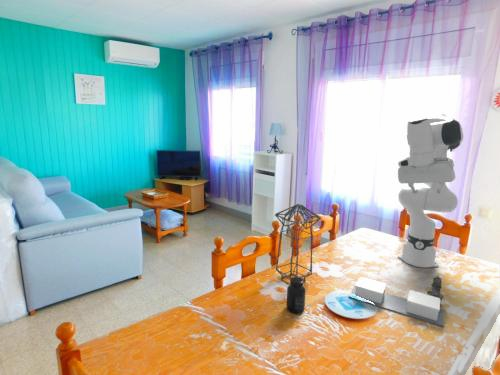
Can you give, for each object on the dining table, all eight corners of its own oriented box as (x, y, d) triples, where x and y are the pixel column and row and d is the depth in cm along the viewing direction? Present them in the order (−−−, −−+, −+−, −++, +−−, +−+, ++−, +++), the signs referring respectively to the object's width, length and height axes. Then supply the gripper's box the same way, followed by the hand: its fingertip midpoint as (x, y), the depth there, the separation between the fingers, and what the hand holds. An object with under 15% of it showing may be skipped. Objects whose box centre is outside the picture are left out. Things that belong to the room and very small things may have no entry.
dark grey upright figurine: (444, 308, 122) (449, 279, 120) (428, 305, 123) (432, 277, 121) (439, 300, 128) (443, 272, 125) (423, 298, 129) (427, 270, 126)
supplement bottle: (305, 306, 120) (307, 277, 118) (302, 316, 114) (304, 286, 111) (288, 302, 122) (289, 274, 120) (284, 312, 116) (286, 282, 114)
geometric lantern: (268, 278, 141) (272, 202, 135) (293, 269, 151) (298, 198, 145) (293, 292, 129) (299, 210, 123) (318, 283, 139) (325, 206, 133)
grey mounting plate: (355, 285, 137) (357, 274, 136) (443, 310, 120) (445, 298, 119) (348, 297, 127) (349, 285, 126) (443, 327, 110) (445, 313, 109)
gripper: (455, 155, 118) (459, 191, 120) (401, 160, 134) (405, 191, 136) (449, 158, 114) (453, 195, 116) (394, 163, 130) (398, 195, 132)
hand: (427, 193), depth 126 cm, fingers open, 8 cm apart
